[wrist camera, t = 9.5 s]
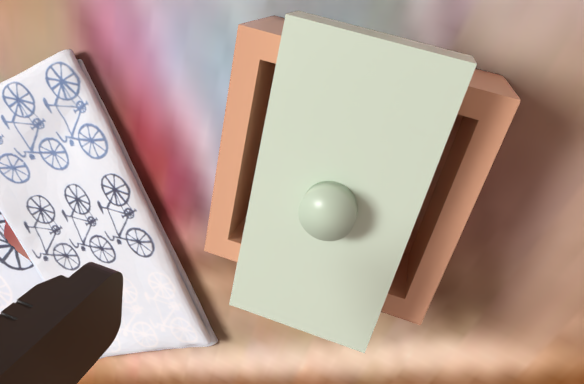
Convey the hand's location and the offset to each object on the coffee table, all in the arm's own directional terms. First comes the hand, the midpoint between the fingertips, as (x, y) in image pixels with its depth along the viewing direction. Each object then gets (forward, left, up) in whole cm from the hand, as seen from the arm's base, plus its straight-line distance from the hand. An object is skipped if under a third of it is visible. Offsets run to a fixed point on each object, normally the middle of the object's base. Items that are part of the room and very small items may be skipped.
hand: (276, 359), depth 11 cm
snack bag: (+18, +12, -14) cm, 26 cm away
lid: (0, 0, -9) cm, 9 cm away
